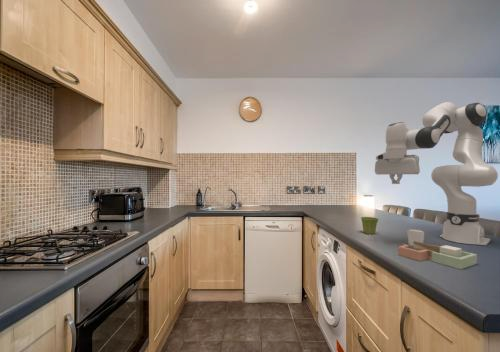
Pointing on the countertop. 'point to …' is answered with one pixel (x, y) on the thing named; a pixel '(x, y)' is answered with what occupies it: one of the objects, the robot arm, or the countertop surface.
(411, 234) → the beige cube
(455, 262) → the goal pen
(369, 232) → the plant pot
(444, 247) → the block
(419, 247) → the brown piece
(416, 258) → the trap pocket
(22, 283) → the countertop surface
